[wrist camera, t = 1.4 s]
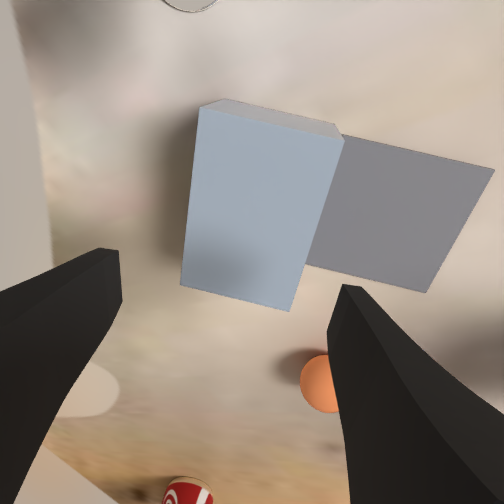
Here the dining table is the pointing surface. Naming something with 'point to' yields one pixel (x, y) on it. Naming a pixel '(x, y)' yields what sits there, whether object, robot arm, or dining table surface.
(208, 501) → the soda can
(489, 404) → the robot arm
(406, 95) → the dining table surface
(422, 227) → the tape square
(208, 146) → the pale grey-blue block
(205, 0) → the wineglass
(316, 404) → the ball
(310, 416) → the dining table surface
